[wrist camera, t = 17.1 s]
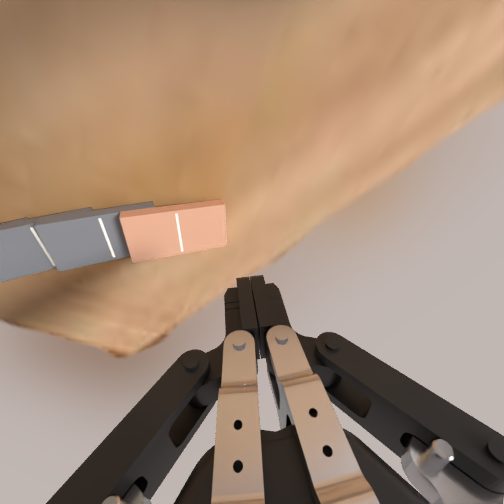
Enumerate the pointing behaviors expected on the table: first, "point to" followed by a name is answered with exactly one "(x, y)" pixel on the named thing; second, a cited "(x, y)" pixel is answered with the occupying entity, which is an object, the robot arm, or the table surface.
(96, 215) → the domino
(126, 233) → the domino
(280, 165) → the table surface
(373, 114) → the table surface
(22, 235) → the domino
